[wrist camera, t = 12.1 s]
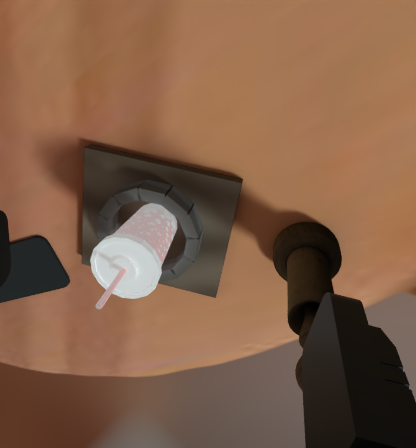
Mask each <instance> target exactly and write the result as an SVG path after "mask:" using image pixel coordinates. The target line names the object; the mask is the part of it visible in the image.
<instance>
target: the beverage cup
mask: <svg viewBox="0 0 416 448" xmlns="http://www.w3.org/2000/svg"><path fill="white" fill-rule="evenodd" d="M176 230H177V220H176V218H175V216H174V215H173V214H171V213H170V212H169V211H168V210H167V209H165V208H164V207H163V206H162V205H159V204H154V203H150V204H147V205H144V206H142V207H141V208H140V209H139V210H138V211H137V212H136V213H135V214H134V215H133V216H132V217H131V218H130V219H128V220H127V221H126V222H125V223H124V224H123V225H122V226H121V227H120V228H119V229H118V230H117V231H116V232H115V233H114V234H113V235H110V236H107V237H105V238H104V239H103V240H102V241H101V242H100V243H99V244H98V245H97V246H96V247H95V248H94V249H93V252H92V256H91V259H90V262H91V268H92V272H93V274H94V276H95V277H96V279H97V281H98V282H99V284H101V285H102V286H103V287H104V288H105V289H106V291H105V293H104V294H103V296H102V297H101V298H100V300H99V301H98V303H97V304H96V308H97V309H101V308H102V307H103V305H104V304H105V302H106V301H107V299H108V298H109V297H110V295H111V294H112V293H113V294H115V295H117V296H120V297H122V298H131V299H136V298H140V297H144V296H147V295H148V294H149V293H150V292H152V291H153V290H154V289H155V288H156V286H157V283H158V281H159V278H160V276H161V274H162V271H161V266H162V264H163V262H164V259H165V257H166V254H167V252H168V250H169V247H170V245H171V242H172V240H173V238H174V235H175V233H176Z"/></svg>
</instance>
